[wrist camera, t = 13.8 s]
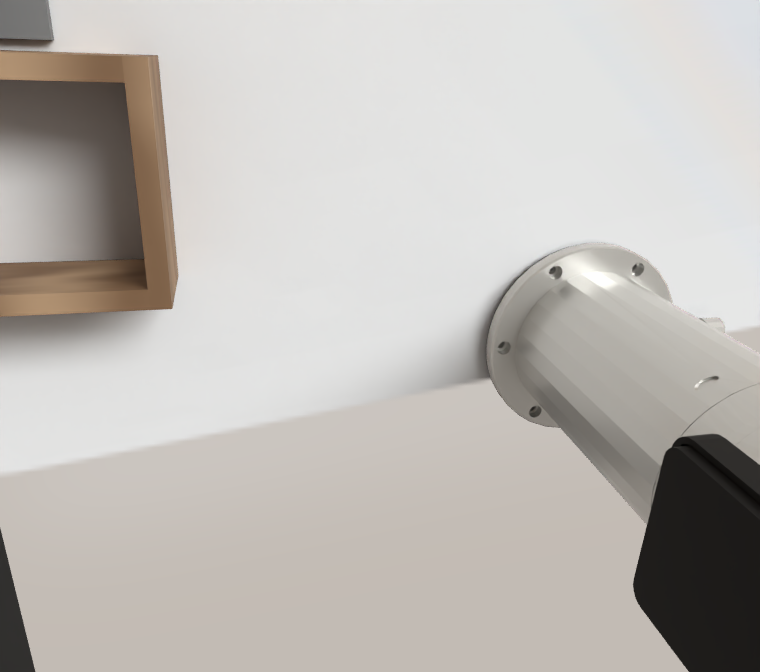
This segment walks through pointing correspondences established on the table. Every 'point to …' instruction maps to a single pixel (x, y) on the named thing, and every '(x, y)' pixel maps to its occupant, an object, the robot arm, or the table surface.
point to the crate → (159, 267)
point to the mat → (25, 19)
